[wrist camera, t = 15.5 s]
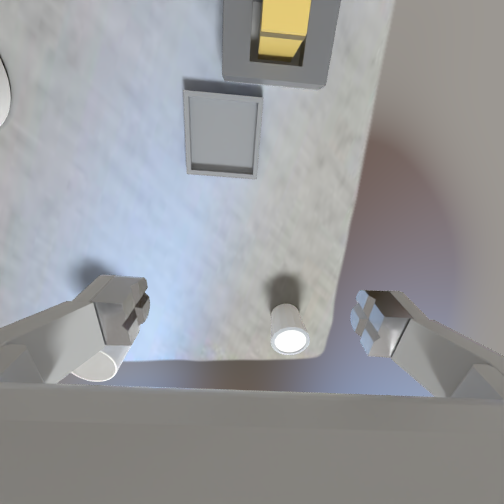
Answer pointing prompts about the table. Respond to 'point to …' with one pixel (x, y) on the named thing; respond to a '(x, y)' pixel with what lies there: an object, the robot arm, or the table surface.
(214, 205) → the table surface
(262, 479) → the robot arm
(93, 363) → the cup
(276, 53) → the plug
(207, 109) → the tray
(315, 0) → the grey socket block
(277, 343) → the white cylinder
